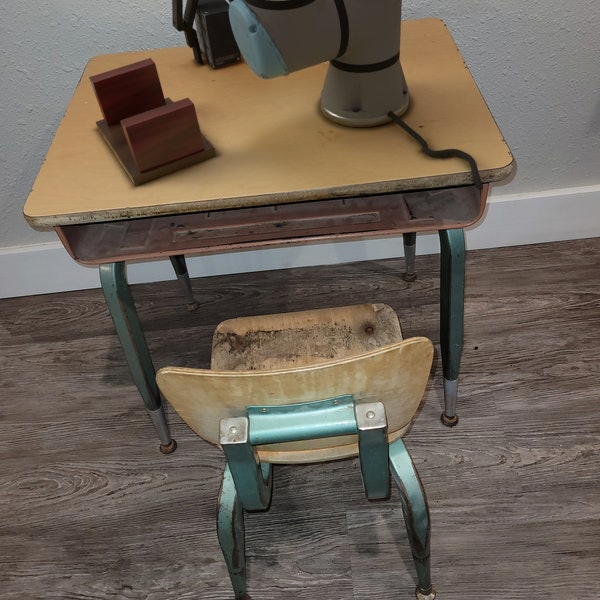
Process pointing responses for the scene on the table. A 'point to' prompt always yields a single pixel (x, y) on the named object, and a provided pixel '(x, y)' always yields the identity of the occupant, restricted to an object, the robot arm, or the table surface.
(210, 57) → the small box
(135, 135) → the book stand
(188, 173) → the table surface
